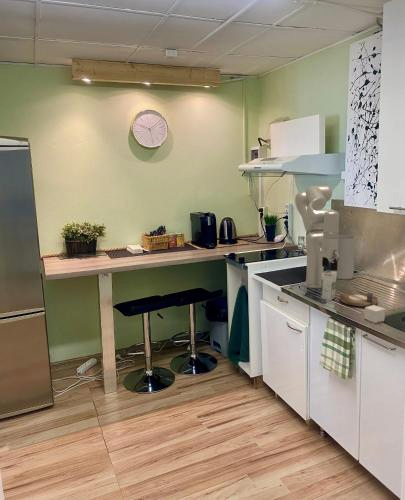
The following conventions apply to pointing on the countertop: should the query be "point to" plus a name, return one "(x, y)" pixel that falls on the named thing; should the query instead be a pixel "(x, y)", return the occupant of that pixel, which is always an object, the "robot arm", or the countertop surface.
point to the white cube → (374, 313)
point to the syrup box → (328, 285)
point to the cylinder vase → (345, 257)
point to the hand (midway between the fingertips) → (329, 268)
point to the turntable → (358, 298)
